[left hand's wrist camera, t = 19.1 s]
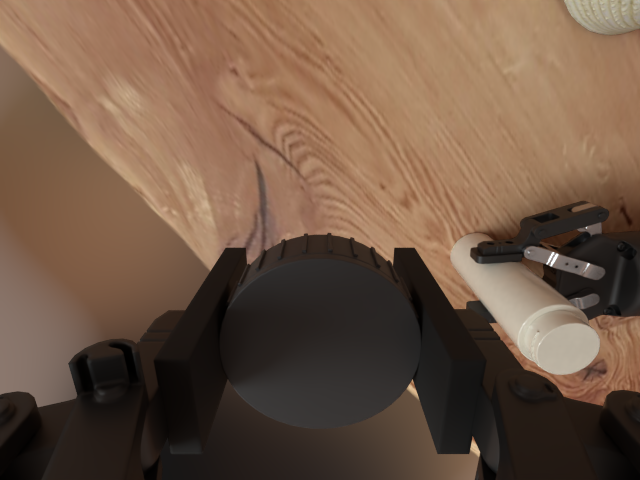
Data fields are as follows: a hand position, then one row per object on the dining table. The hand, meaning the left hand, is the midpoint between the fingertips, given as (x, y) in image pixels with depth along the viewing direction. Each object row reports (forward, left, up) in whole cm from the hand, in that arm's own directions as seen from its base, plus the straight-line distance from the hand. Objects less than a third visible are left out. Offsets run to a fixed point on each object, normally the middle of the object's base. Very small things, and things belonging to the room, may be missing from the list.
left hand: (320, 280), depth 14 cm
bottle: (-3, +18, -24) cm, 30 cm away
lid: (0, 0, +4) cm, 4 cm away
